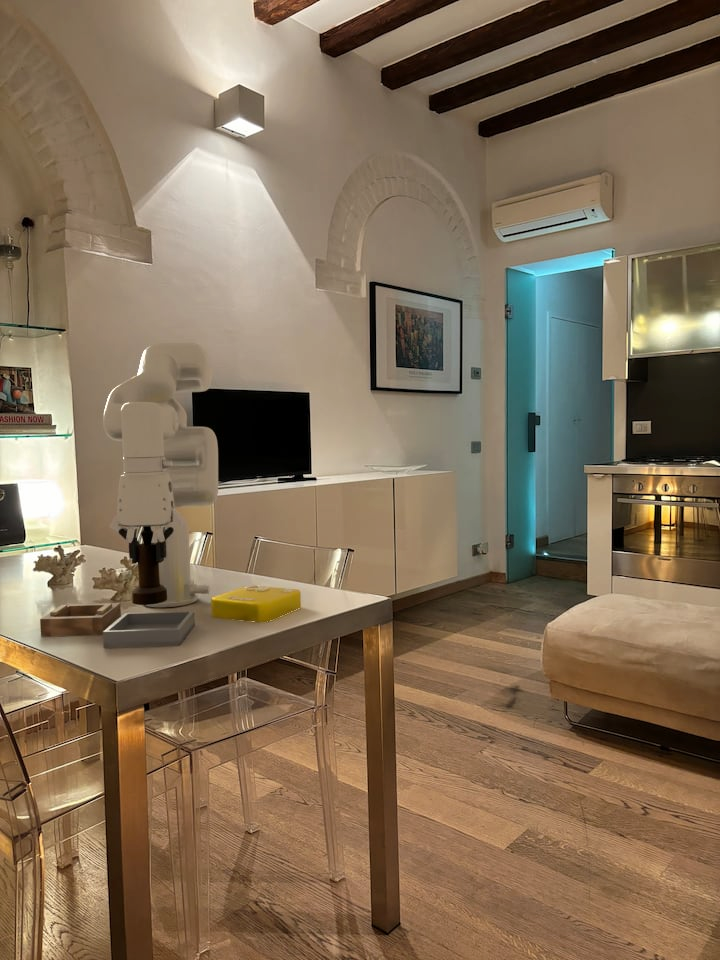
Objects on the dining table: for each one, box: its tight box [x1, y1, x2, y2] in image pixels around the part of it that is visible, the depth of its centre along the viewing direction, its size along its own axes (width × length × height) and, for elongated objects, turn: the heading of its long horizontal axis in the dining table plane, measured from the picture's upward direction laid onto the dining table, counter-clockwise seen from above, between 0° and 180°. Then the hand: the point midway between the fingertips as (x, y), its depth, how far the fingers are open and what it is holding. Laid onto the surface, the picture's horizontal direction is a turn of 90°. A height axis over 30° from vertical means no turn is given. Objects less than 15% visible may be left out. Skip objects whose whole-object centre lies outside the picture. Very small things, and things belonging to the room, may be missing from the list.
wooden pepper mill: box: [131, 526, 167, 606], centre depth 140 cm, size 7×6×18 cm
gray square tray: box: [102, 610, 196, 649], centre depth 141 cm, size 14×14×3 cm
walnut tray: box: [39, 602, 122, 638], centre depth 149 cm, size 12×12×4 cm
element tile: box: [210, 584, 302, 623], centre depth 159 cm, size 15×15×5 cm
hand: (148, 561), depth 140 cm, fingers closed on wooden pepper mill, 4 cm apart
